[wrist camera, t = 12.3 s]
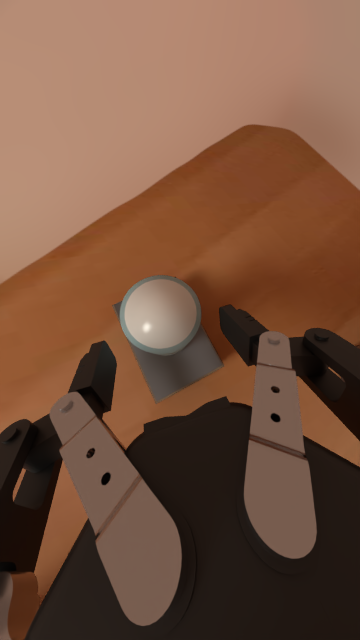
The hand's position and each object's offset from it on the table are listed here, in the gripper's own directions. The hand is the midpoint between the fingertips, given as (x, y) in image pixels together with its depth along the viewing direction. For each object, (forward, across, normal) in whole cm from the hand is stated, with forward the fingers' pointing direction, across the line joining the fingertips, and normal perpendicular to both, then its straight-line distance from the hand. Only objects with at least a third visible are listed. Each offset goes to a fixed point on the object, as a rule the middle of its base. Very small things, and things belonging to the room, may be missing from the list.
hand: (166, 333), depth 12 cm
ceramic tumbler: (+7, 0, +5) cm, 8 cm away
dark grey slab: (+10, 0, +8) cm, 12 cm away
